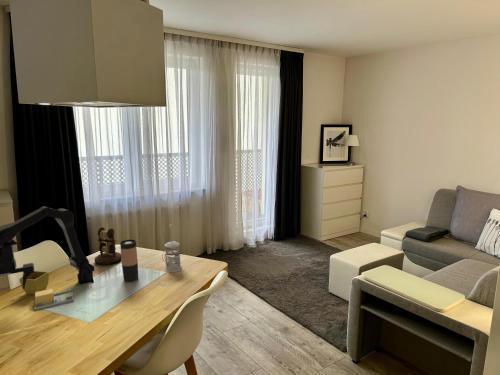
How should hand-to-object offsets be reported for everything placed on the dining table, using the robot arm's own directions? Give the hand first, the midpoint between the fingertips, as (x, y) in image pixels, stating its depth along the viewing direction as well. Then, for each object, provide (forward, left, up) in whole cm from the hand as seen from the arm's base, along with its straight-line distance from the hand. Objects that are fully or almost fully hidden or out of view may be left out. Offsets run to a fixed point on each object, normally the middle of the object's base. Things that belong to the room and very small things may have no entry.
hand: (11, 291), depth 148 cm
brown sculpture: (-44, -35, -9) cm, 57 cm away
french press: (-72, -4, -9) cm, 73 cm away
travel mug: (-50, -3, -9) cm, 51 cm away
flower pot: (-8, -12, -9) cm, 17 cm away
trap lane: (-15, +2, -8) cm, 18 cm away
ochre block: (-12, 0, -8) cm, 14 cm away
